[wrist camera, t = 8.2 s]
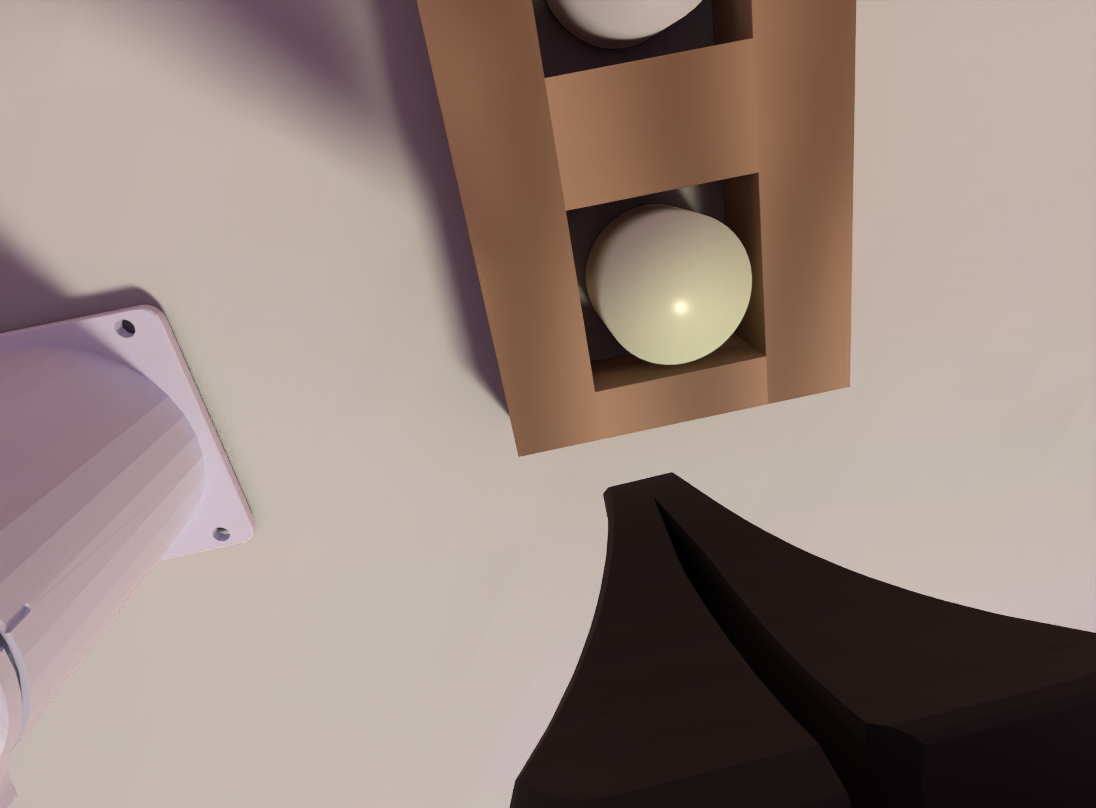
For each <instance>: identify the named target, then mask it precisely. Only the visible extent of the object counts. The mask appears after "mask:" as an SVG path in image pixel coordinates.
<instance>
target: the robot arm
mask: <svg viewBox="0 0 1096 808" xmlns="http://www.w3.org/2000/svg"><path fill="white" fill-rule="evenodd" d="M123 320H128V321H129V322H131V323H132V324H133V325H134V327H135V333H134V334H131V333H129V332H127V331H126V330H125V329H124V328H123V325H122V321H123ZM603 496H604V501H605V507H606V512H607V517H608V540H607V554H606V561H605V567H604V573H603V579H602V584H601V590H600V594H599V598H598V603H597V606H596V610H595V614H594V617H593V621H592V624H591V628H590V631H589V634H588V637H587V639H586V642H585V645H584V648H583V651H582V653H581V656H580V659H579V661H578V664H577V666H576V669H575V671H574V674H573V676H572V678H571V680H570V683H569V685H568V687H567V689H566V691H565V693H564V695H563V697H562V699H561V701H560V703H559V705H558V708H557V710H556V712H555V714H554V716H553V718H552V720H551V722H550V724H549V725H548V727H547V729H546V731H545V733H544V734H543V736H542V738H541V739H540V741H539V743H538V744H537V746H536V748H535V749H534V751H533V753H532V754H531V756H530V757H529V759H528V761H527V762H526V764H525V766H524V767H523V769H522V771H521V772H520V774H519V776H518V777H517V779H516V781H515V785H514V789H513V794H512V799H511V804H510V808H1096V633H1093V632H1088V631H1083V630H1077V629H1072V628H1067V627H1062V626H1056V625H1051V624H1046V623H1041V622H1035V621H1030V620H1025V619H1020V618H1014V617H1009V616H1004V615H1000V614H995V613H991V612H987V611H983V610H979V609H975V608H971V607H967V606H963V605H959V604H955V603H951V602H947V601H943V600H940V599H937V598H933V597H930V596H926V595H923V594H919V593H916V592H912V591H909V590H906V589H903V588H900V587H897V586H894V585H891V584H888V583H885V582H882V581H879V580H876V579H873V578H870V577H867V576H865V575H862V574H859V573H857V572H854V571H851V570H849V569H846V568H844V567H841V566H839V565H836V564H834V563H832V562H829V561H827V560H825V559H822V558H820V557H817V556H815V555H813V554H810V553H808V552H806V551H804V550H802V549H800V548H797V547H795V546H793V545H791V544H789V543H787V542H785V541H783V540H782V539H780V538H778V537H776V536H774V535H772V534H770V533H768V532H766V531H764V530H762V529H761V528H759V527H757V526H755V525H753V524H752V523H750V522H748V521H747V520H745V519H743V518H742V517H740V516H738V515H737V514H735V513H733V512H732V511H730V510H728V509H727V508H725V507H724V506H722V505H721V504H719V503H717V502H716V501H714V500H713V499H711V498H710V497H708V496H707V495H705V494H704V493H702V492H701V491H699V490H698V489H696V488H695V487H693V486H692V485H691V484H689V483H688V482H686V481H685V480H683V479H682V478H680V477H679V476H677V475H675V474H674V473H672V472H671V473H667V474H663V475H659V476H654V477H650V478H646V479H642V480H638V481H633V482H629V483H625V484H621V485H617V486H612V487H608V488H607V490H606V491H605V492H604V494H603ZM218 527H219V528H225V529H227V530H228V532H229V533H230V534H223V533H221V532H220V531H219V530H218V529H217V528H218ZM255 529H256V523H255V520H254V518H253V515H252V513H251V511H250V509H249V506H248V504H247V502H246V499H245V497H244V495H243V492H242V490H241V488H240V486H239V483H238V481H237V479H236V476H235V474H234V472H233V470H232V467H231V465H230V463H229V460H228V458H227V456H226V454H225V451H224V449H223V447H222V444H221V442H220V440H219V438H218V435H217V433H216V431H215V428H214V426H213V424H212V422H211V419H210V417H209V415H208V412H207V410H206V408H205V406H204V403H203V401H202V399H201V396H200V394H199V392H198V390H197V387H196V385H195V383H194V380H193V378H192V376H191V373H190V371H189V369H188V367H187V364H186V362H185V360H184V357H183V355H182V353H181V351H180V348H179V346H178V344H177V341H176V339H175V337H174V335H173V332H172V330H171V328H170V325H169V323H168V321H167V319H166V317H165V316H164V314H163V313H162V312H161V311H160V310H159V309H157V308H156V307H153V306H150V305H138V306H133V307H128V308H123V309H118V310H113V311H108V312H103V313H98V314H93V315H88V316H83V317H78V318H73V319H68V320H63V321H58V322H53V323H48V324H43V325H38V326H33V327H28V328H23V329H18V330H13V331H8V332H3V333H0V808H9V807H10V805H11V804H12V802H13V801H14V799H15V798H16V797H17V792H16V790H15V788H14V786H13V784H12V783H11V781H10V777H9V773H8V762H9V758H10V755H11V753H12V751H13V750H14V749H15V747H16V746H17V745H18V743H19V742H20V741H21V740H22V738H23V737H24V736H25V734H26V733H27V732H28V730H29V729H30V728H31V727H32V725H33V724H34V723H35V721H36V720H37V719H38V717H39V716H40V715H41V714H42V712H43V711H44V710H45V708H46V707H47V706H48V704H49V703H50V702H51V701H52V699H53V698H54V697H55V695H56V694H57V693H58V691H59V690H60V689H61V688H62V686H63V685H64V684H65V682H66V681H67V680H68V678H69V677H70V676H71V675H72V673H73V672H74V671H75V669H76V668H77V667H78V665H79V664H80V663H81V661H82V660H83V659H84V658H85V656H86V655H87V654H88V652H89V651H90V650H91V648H92V647H93V646H94V645H95V643H96V642H97V641H98V639H99V638H100V637H101V635H102V634H103V633H104V632H105V630H106V629H107V628H108V626H109V625H110V624H111V622H112V621H113V620H114V619H115V617H116V616H117V615H118V613H119V612H120V611H121V609H122V608H123V607H124V606H125V604H126V603H127V602H128V600H129V599H130V598H131V596H132V595H133V594H134V593H135V591H136V590H137V589H138V587H139V586H140V585H141V583H142V582H143V581H144V580H145V578H146V577H147V576H148V574H149V573H150V572H151V570H152V569H153V568H154V567H155V565H156V564H157V563H158V561H160V560H164V559H169V558H174V557H178V556H183V555H188V554H192V553H197V552H202V551H207V550H211V549H216V548H221V547H225V546H230V545H235V544H239V543H243V542H246V541H248V540H249V539H250V538H251V537H252V536H253V534H254V532H255Z"/></svg>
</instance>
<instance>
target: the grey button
mask: <svg viewBox="0 0 1096 808" xmlns="http://www.w3.org/2000/svg"><path fill="white" fill-rule="evenodd" d="M546 1H547V3H548V6H549V7H550V9H551V11H552V12H553V14H554V15H555V17H556V18H557V19H558V20H559V22H560V23H561V24H562V25H563V26H564V27H565V28H566V29H567V30H568V31H569V32H570V33H572V34H573V35H574V36H576V37H577V38H578V39H580V40H582V41H584V42H586V43H588V44H591V45H594V46H597V47H602V48H609V49H619V48H627V47H630V46H634V45H637V44H639V43H642V42H644V41H646V40H648V39H649V38H651V37H653V36H654V35H656V34H657V33H659V32H660V31H662V30H664V29H665V28H667V27H668V26H670V25H671V24H673V23H675V22H676V21H678V20H679V19H681V18H682V17H684V16H685V15H687V14H688V13H689V12H690V11H692V10H693V9H694V8H695V7H696V6H697V5H698V4H699V3H700V2H701V1H702V0H546Z"/></svg>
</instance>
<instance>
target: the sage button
mask: <svg viewBox="0 0 1096 808" xmlns="http://www.w3.org/2000/svg"><path fill="white" fill-rule="evenodd" d="M586 287H587V292H588V296H589V299H590V301H591V304H592V306H593V307H594V309H595V311H596V312H597V314H598V315H599V317H600V318H601V319H602V321H603V322H604V323H605V325H606V326H607V327H608V329H609V330H610V331H611V333H612V334H613V335H614V337H615V338H616V339H617V341H618V342H619V343H620V344H621V345H622V346H623V347H624V348H625V349H626V350H628V351H629V352H630V353H631V354H633V355H635V356H637V357H638V358H640V359H643V360H645V361H648V362H652V363H656V364H664V365H676V364H683V363H687V362H691V361H694V360H697V359H699V358H702V357H704V356H706V355H707V354H709V353H711V352H713V351H714V350H715V349H717V348H718V347H720V346H721V345H722V344H723V343H724V342H725V341H726V340H727V339H728V338H729V337H730V336H731V335H732V334H733V332H734V331H735V330H736V328H737V327H738V325H739V324H740V322H741V320H742V318H743V316H744V314H745V312H746V309H747V307H748V303H749V300H750V296H751V289H752V273H751V266H750V262H749V258H748V255H747V253H746V250H745V248H744V246H743V245H742V243H741V241H740V240H739V239H738V237H737V236H736V235H735V234H734V233H733V232H732V231H731V230H730V229H729V228H728V227H727V226H726V225H724V224H723V223H721V222H720V221H718V220H716V219H714V218H712V217H709V216H706V215H703V214H699V213H696V212H692V211H689V210H685V209H682V208H678V207H675V206H671V205H665V204H648V205H642V206H638V207H635V208H632V209H630V210H628V211H626V212H624V213H622V214H620V215H619V216H617V217H616V218H615V219H614V220H612V221H611V222H610V223H609V224H608V225H607V226H606V227H605V228H604V229H603V230H602V232H601V233H600V234H599V236H598V237H597V239H596V241H595V242H594V244H593V246H592V249H591V251H590V254H589V257H588V261H587V266H586Z"/></svg>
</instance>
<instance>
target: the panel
mask: <svg viewBox="0 0 1096 808" xmlns="http://www.w3.org/2000/svg"><path fill="white" fill-rule="evenodd" d="M416 1H417V5H418V10H419V14H420V19H421V23H422V28H423V32H424V36H425V41H426V45H427V50H428V54H429V59H430V63H431V68H432V72H433V77H434V81H435V86H436V90H437V94H438V99H439V103H440V108H441V112H442V117H443V121H444V126H445V130H446V135H447V139H448V144H449V148H450V152H451V157H452V161H453V166H454V170H455V175H456V179H457V184H458V188H459V193H460V197H461V201H462V206H463V210H464V215H465V219H466V224H467V228H468V233H469V237H470V242H471V246H472V251H473V255H474V259H475V264H476V268H477V273H478V277H479V282H480V286H481V291H482V295H483V300H484V304H485V308H486V313H487V317H488V322H489V326H490V331H491V335H492V340H493V344H494V349H495V353H496V358H497V362H498V366H499V371H500V375H501V380H502V384H503V389H504V393H505V398H506V402H507V407H508V411H509V416H510V420H511V424H512V429H513V433H514V438H515V442H516V447H517V451H518V456H519V457H520V456H525V455H529V454H534V453H539V452H543V451H548V450H553V449H558V448H562V447H567V446H572V445H576V444H581V443H586V442H591V441H595V440H600V439H605V438H609V437H614V436H619V435H624V434H628V433H633V432H638V431H643V430H647V429H652V428H657V427H661V426H666V425H671V424H676V423H680V422H685V421H690V420H694V419H699V418H704V417H709V416H713V415H718V414H723V413H728V412H732V411H737V410H742V409H746V408H751V407H756V406H761V405H765V404H770V403H775V402H779V401H784V400H789V399H794V398H798V397H803V396H808V395H813V394H817V393H822V392H827V391H831V390H836V389H841V388H846V387H850V344H851V282H852V221H853V159H854V97H855V36H856V0H712V12H713V28H714V44H715V46H709V47H704V48H699V49H694V50H689V51H683V52H678V53H673V54H668V55H663V56H657V57H652V58H647V59H642V60H637V61H631V62H626V63H621V64H616V65H611V66H605V67H600V68H595V69H590V70H585V71H579V72H574V73H569V74H564V75H559V76H553V77H548V78H544V72H543V66H542V60H541V53H540V47H539V41H538V35H537V29H536V22H535V16H534V10H533V4H532V0H416ZM718 180H723V188H724V204H725V219H726V226H727V227H728V228H729V229H730V230H731V231H732V232H733V233H734V234H735V235H736V236H737V237H738V239H739V240H740V241H741V243H742V245H743V246H744V248H745V250H746V253H747V255H748V258H749V262H750V266H751V273H752V289H751V296H750V300H749V303H748V307H747V309H746V312H745V314H744V316H743V318H742V320H741V322H740V324H739V325H738V327H737V328H736V330H735V331H734V332H733V334H732V335H731V336H730V337H729V338H728V339H727V340H726V341H725V342H724V343H723V344H722V345H721V346H720V347H718V348H717V349H715V350H714V351H713V352H711V353H709V354H707V355H706V356H704V357H702V358H699V359H697V360H694V361H691V362H687V363H683V364H676V365H664V364H656V363H652V362H648V361H645V360H643V359H640V358H638V357H637V356H635V355H633V354H627V355H622V356H617V357H613V358H608V359H603V360H598V361H593V362H590V358H589V351H588V345H587V339H586V333H585V327H584V320H583V314H582V308H581V302H580V296H579V289H578V283H577V277H576V271H575V265H574V258H573V252H572V246H571V240H570V234H569V227H568V221H567V215H566V211H568V210H573V209H578V208H583V207H588V206H593V205H598V204H603V203H608V202H613V201H618V200H623V199H628V198H633V197H638V196H643V195H648V194H653V193H658V192H663V191H668V190H673V189H678V188H683V187H688V186H693V185H698V184H703V183H708V182H713V181H718Z"/></svg>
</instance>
